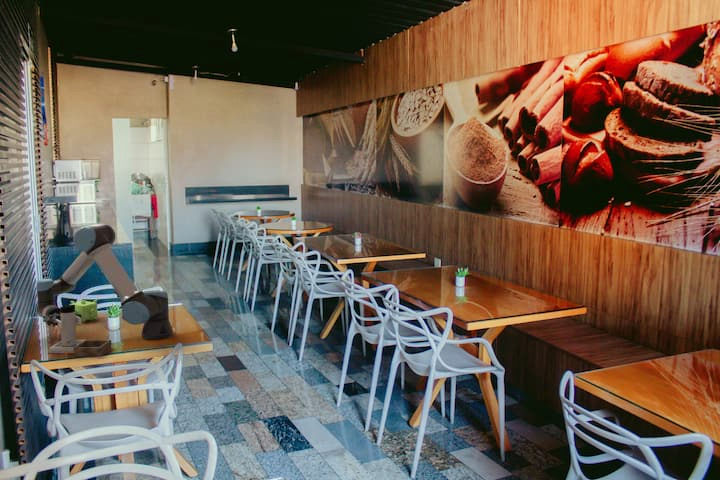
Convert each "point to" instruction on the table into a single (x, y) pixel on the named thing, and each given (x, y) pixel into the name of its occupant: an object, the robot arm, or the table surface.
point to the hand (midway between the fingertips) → (71, 322)
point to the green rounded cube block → (86, 309)
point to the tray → (59, 349)
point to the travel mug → (68, 326)
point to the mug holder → (92, 348)
